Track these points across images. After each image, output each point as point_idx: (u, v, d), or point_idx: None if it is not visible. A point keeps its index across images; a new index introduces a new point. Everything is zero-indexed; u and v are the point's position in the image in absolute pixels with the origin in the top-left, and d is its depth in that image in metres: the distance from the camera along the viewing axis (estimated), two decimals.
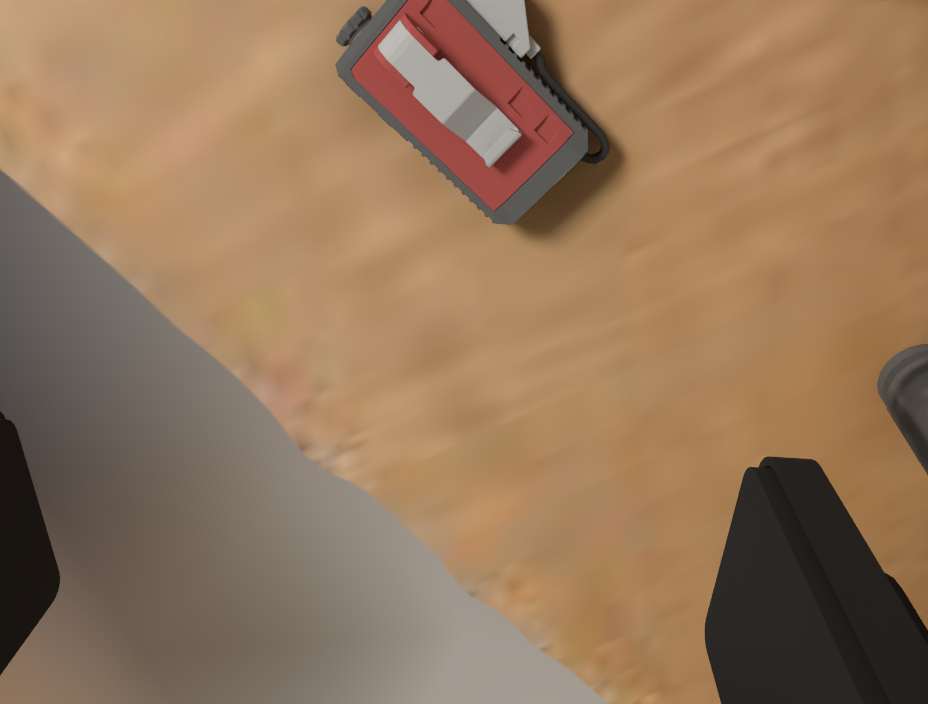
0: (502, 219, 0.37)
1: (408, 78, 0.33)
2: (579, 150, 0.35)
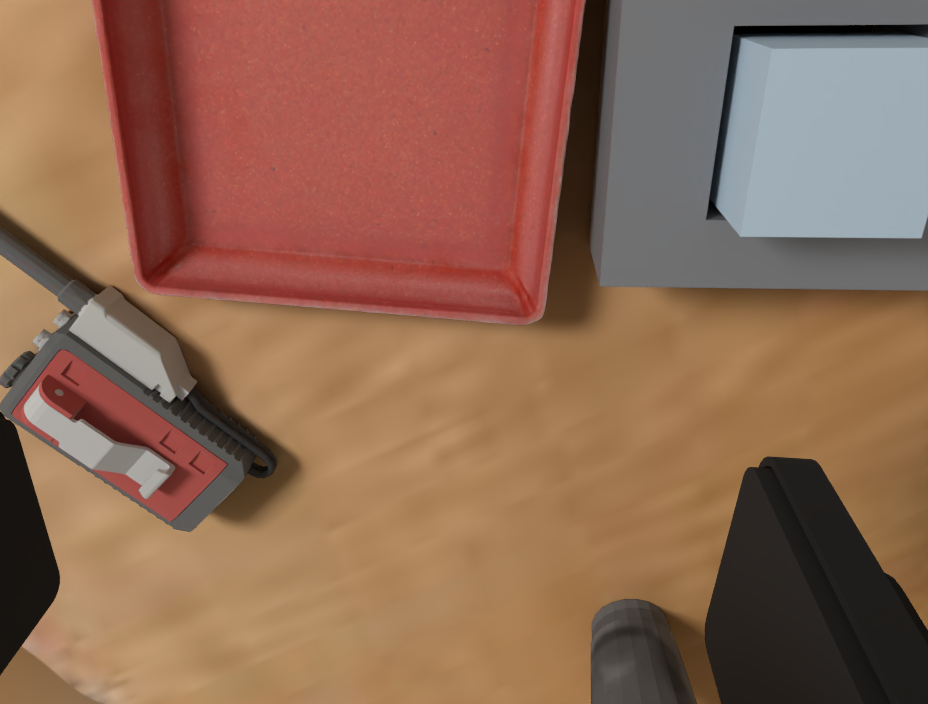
0: (180, 527, 0.40)
1: (51, 435, 0.35)
2: (235, 478, 0.38)
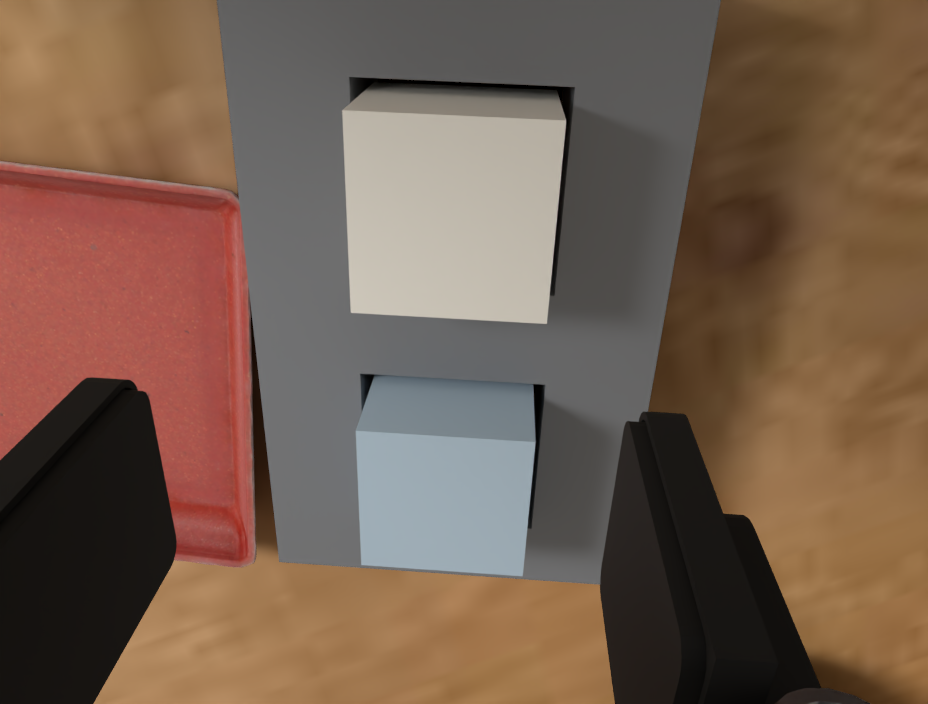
0: None
1: None
2: None
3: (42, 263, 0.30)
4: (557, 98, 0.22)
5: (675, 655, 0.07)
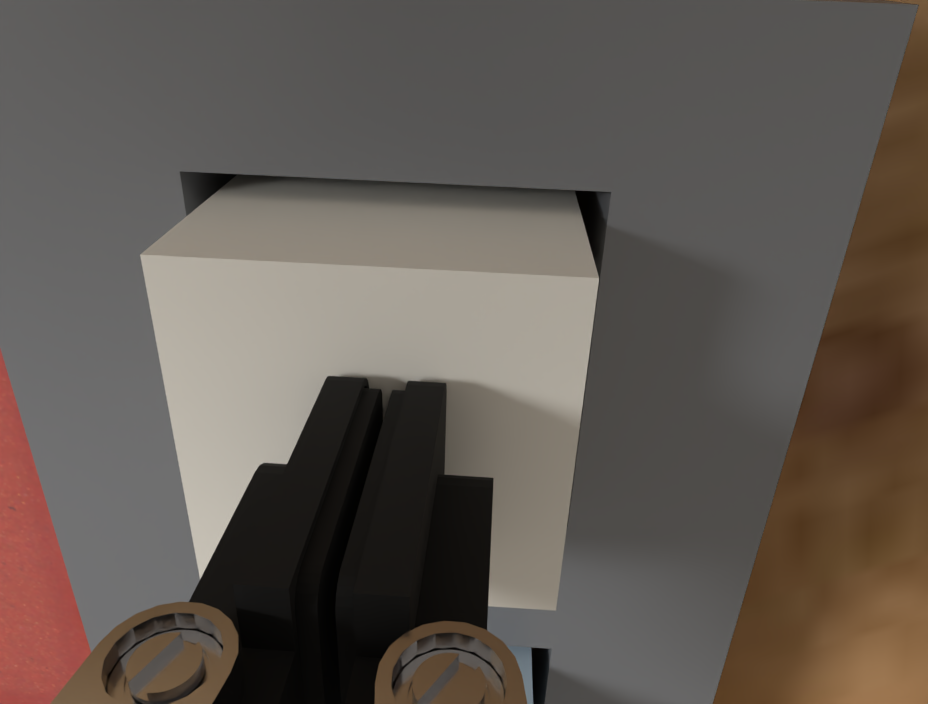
0: None
1: None
2: None
3: None
4: (573, 198, 0.12)
5: None
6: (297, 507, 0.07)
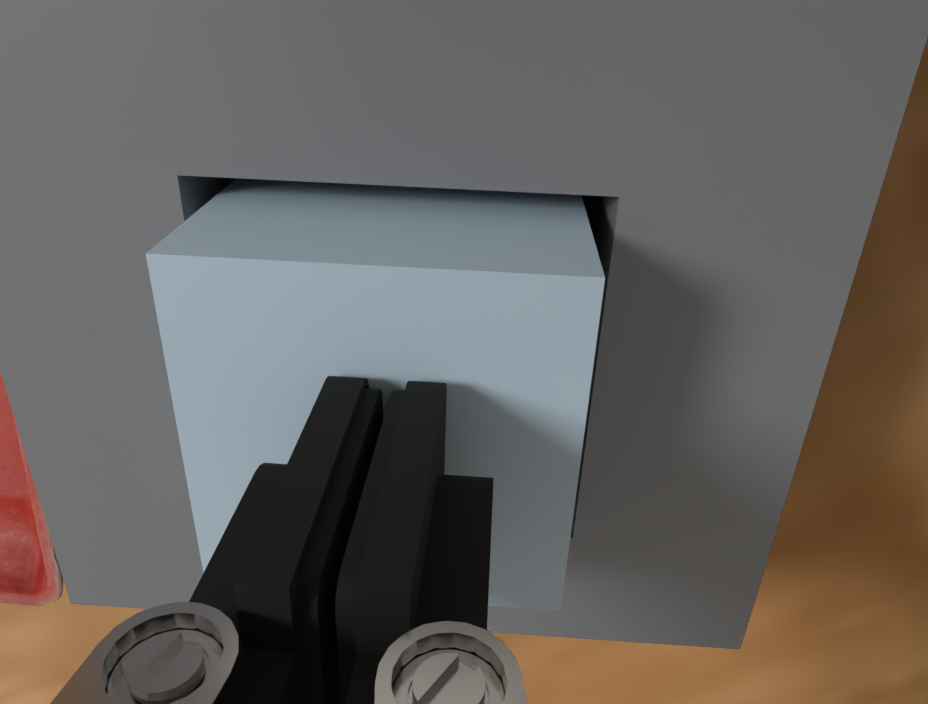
0: None
1: None
2: None
3: None
4: None
5: None
6: (297, 507, 0.07)
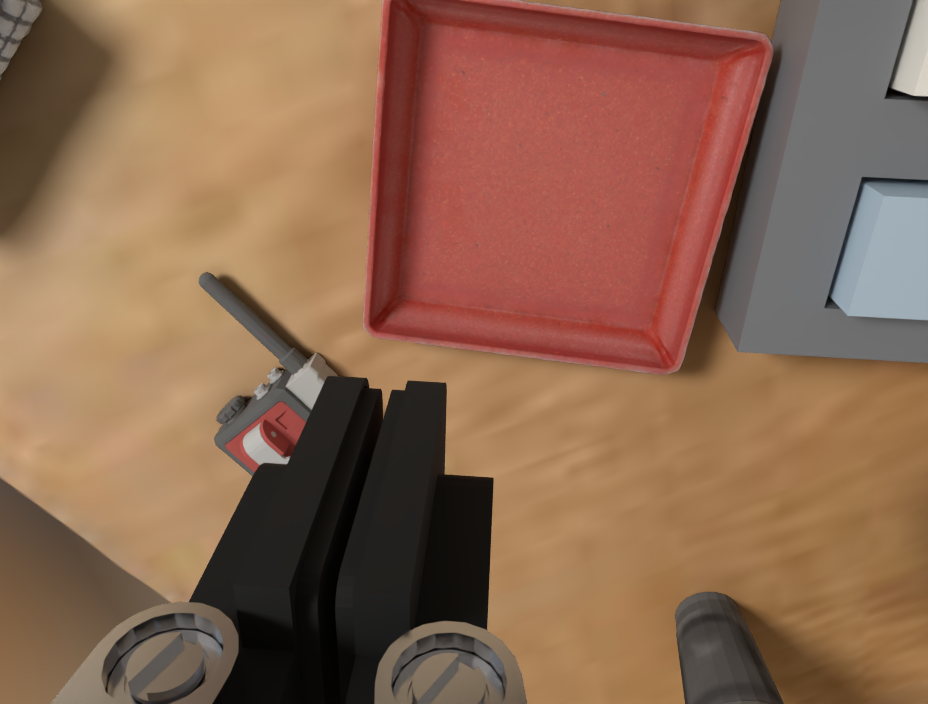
0: None
1: None
2: None
3: (556, 108, 0.38)
4: None
5: None
6: (297, 508, 0.07)
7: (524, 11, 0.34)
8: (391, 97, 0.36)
